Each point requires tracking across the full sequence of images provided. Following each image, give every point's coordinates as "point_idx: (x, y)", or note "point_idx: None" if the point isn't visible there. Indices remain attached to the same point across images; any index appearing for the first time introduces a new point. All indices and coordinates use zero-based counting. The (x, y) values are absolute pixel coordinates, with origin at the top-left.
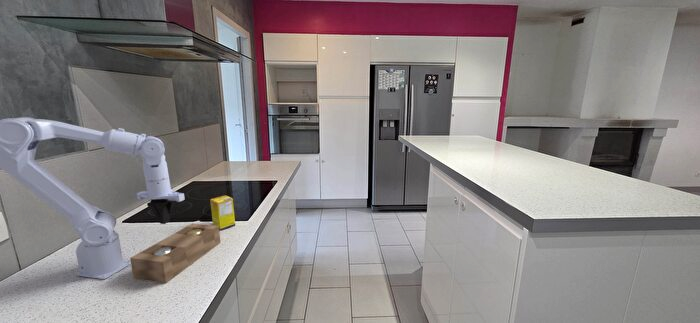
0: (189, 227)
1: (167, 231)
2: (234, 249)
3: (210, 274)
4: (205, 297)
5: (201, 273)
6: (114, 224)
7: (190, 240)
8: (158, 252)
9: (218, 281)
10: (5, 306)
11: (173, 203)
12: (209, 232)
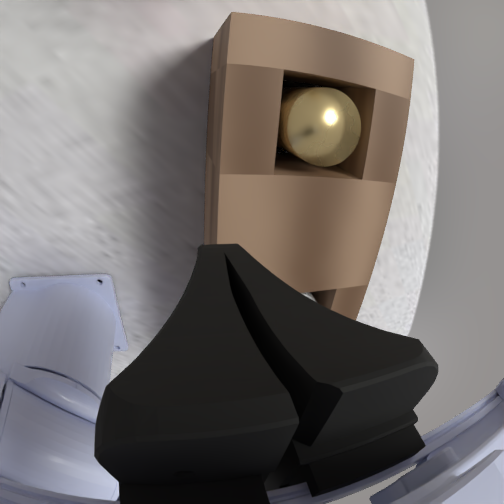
0: (258, 73)
1: (9, 13)
2: (420, 118)
3: (399, 256)
4: (406, 314)
5: (378, 258)
6: (38, 421)
7: (363, 232)
8: None
9: (418, 272)
10: None
11: (373, 331)
12: (403, 133)
